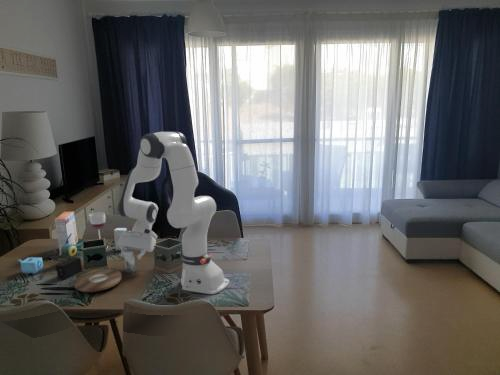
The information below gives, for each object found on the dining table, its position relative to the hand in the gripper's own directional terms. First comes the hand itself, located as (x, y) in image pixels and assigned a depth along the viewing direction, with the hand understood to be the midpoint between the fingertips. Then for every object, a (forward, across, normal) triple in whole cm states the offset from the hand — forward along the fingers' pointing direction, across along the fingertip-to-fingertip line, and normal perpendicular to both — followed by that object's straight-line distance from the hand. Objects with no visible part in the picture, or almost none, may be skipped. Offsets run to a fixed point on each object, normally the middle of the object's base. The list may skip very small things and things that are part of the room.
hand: (130, 257), depth 182 cm
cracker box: (-3, -51, +13) cm, 52 cm away
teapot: (+17, -46, -7) cm, 50 cm away
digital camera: (+14, -26, -4) cm, 30 cm away
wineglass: (-9, -36, +19) cm, 42 cm away
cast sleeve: (+5, 0, +4) cm, 7 cm away
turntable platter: (+16, -5, -8) cm, 18 cm away
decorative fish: (+5, -36, +4) cm, 37 cm away
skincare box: (-10, -23, +20) cm, 32 cm away
